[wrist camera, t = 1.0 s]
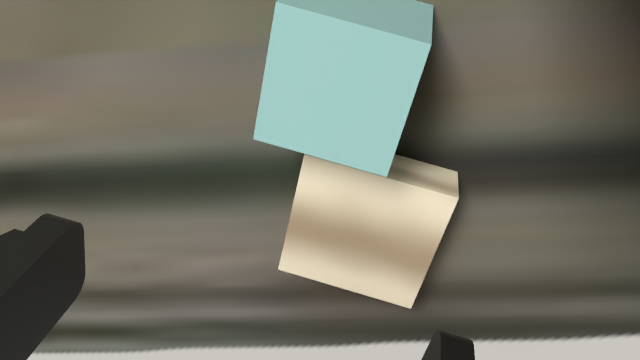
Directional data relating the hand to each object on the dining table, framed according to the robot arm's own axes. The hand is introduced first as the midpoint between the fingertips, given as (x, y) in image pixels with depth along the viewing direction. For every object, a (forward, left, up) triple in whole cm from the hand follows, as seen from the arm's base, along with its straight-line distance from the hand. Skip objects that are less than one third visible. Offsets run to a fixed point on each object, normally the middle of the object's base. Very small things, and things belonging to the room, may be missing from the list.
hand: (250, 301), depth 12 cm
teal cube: (0, 0, -18) cm, 18 cm away
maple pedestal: (+9, +3, -18) cm, 20 cm away
